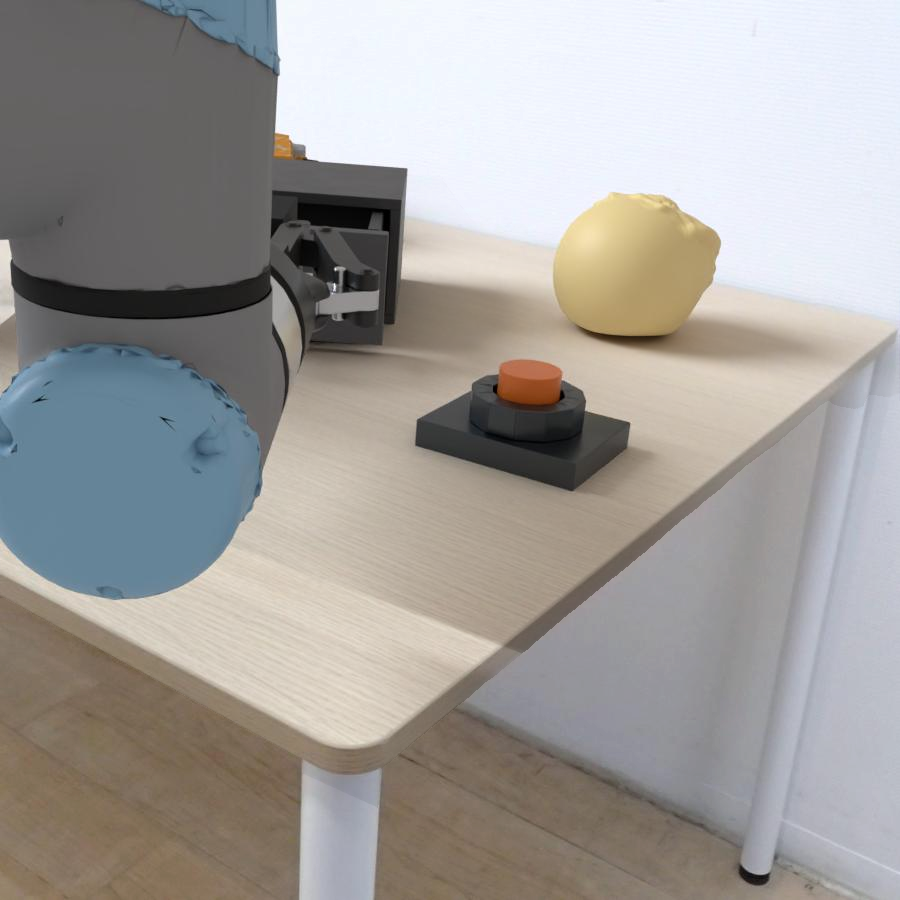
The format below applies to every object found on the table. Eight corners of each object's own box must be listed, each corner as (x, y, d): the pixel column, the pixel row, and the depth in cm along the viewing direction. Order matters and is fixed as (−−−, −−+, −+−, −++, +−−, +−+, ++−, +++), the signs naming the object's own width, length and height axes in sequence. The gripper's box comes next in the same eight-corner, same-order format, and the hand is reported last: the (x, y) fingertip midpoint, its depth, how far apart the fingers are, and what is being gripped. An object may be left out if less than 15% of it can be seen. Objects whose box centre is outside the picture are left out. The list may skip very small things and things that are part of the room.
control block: (414, 446, 68) (418, 389, 66) (480, 409, 74) (484, 356, 73) (572, 492, 63) (579, 432, 62) (627, 448, 70) (635, 393, 69)
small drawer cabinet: (394, 325, 90) (401, 199, 86) (229, 313, 89) (229, 186, 86) (400, 278, 103) (407, 168, 100) (257, 267, 103) (259, 156, 99)
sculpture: (725, 336, 94) (748, 201, 90) (631, 360, 86) (652, 213, 82) (614, 301, 101) (631, 175, 97) (519, 320, 94) (533, 184, 90)
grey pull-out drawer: (378, 365, 78) (385, 249, 75) (206, 352, 78) (206, 235, 75) (390, 295, 94) (395, 198, 91) (248, 285, 94) (249, 187, 91)
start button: (485, 398, 67) (488, 369, 66) (514, 383, 70) (517, 355, 69) (542, 413, 65) (545, 384, 65) (569, 397, 68) (572, 368, 68)
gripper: (45, 416, 47) (171, 275, 69) (369, 437, 48) (393, 290, 69) (34, 230, 44) (169, 144, 66) (378, 255, 45) (400, 161, 67)
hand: (284, 219), depth 68 cm, fingers closed
